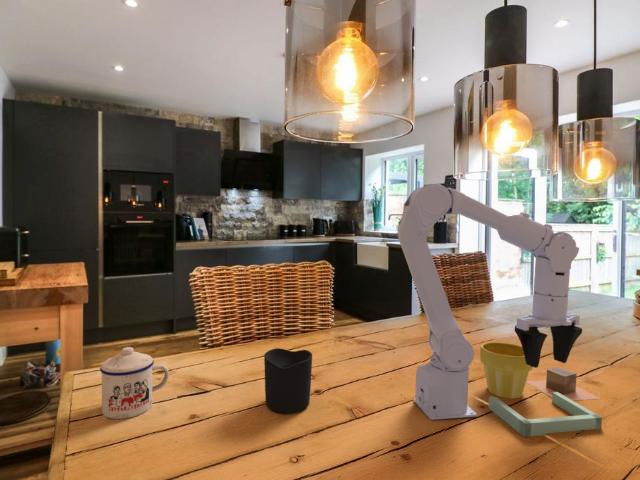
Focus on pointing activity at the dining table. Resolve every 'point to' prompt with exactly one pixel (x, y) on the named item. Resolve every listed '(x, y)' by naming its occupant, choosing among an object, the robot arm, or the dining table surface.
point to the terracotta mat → (574, 396)
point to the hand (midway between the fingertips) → (546, 363)
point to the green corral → (541, 426)
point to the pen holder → (287, 380)
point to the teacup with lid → (128, 384)
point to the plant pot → (504, 368)
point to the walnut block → (561, 380)
